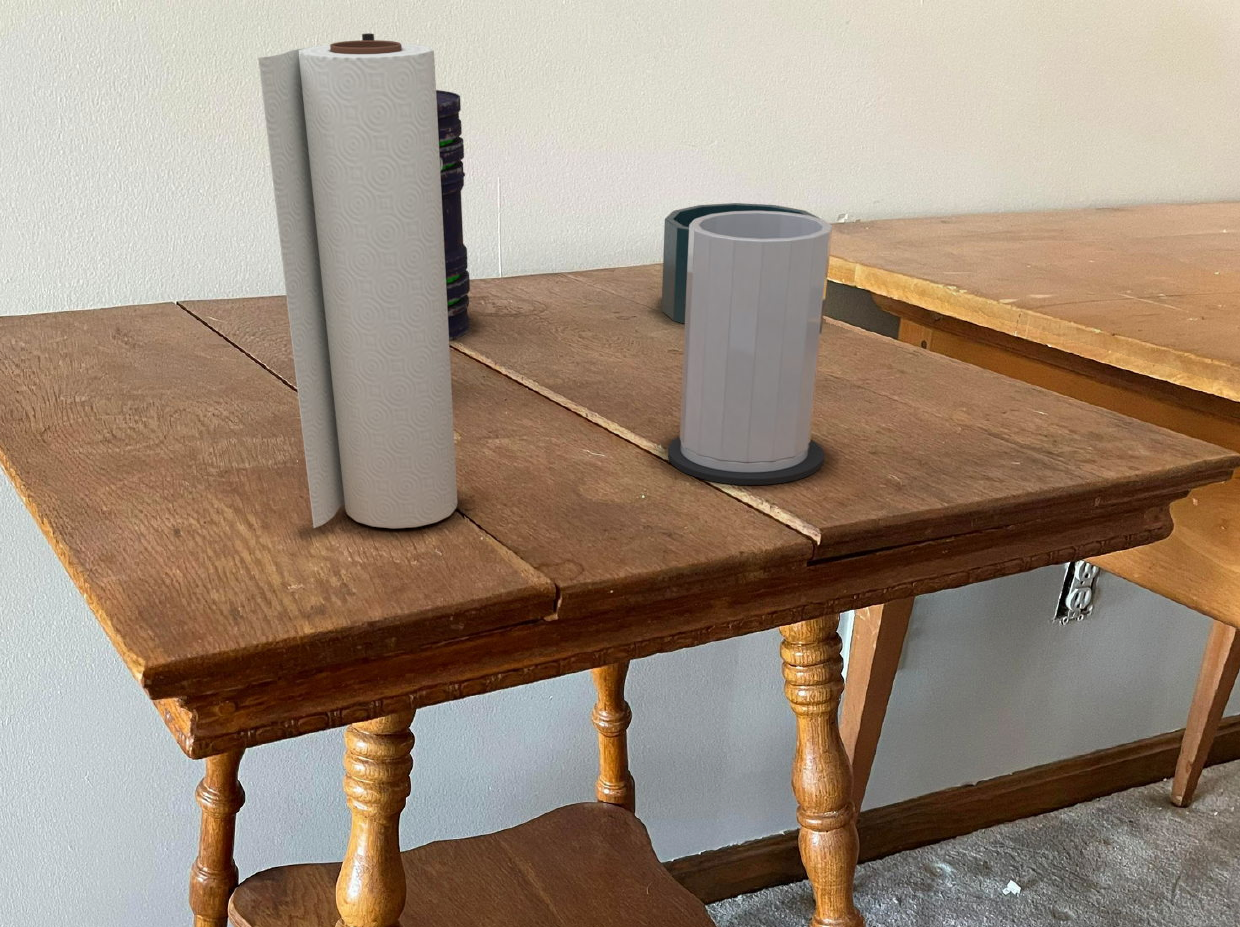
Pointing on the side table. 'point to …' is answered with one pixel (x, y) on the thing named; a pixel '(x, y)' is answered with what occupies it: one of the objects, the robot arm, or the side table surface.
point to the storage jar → (453, 212)
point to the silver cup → (752, 338)
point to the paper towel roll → (365, 276)
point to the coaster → (762, 478)
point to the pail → (678, 249)
